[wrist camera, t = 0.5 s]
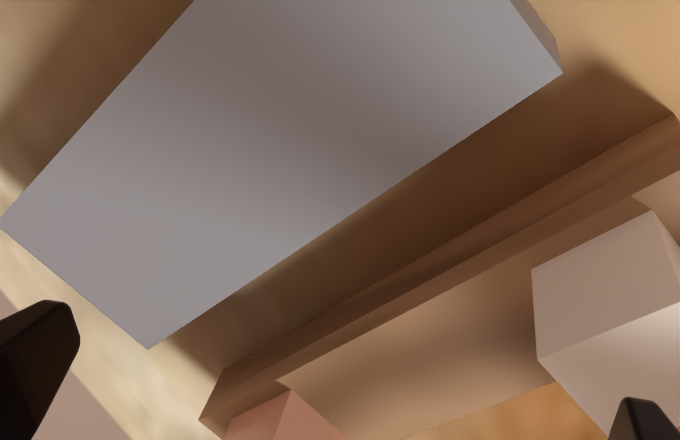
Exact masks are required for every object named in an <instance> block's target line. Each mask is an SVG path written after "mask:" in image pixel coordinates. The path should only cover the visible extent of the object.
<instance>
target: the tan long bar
mask: <svg viewBox="0 0 680 440" xmlns="http://www.w3.org/2000/svg"><path fill="white" fill-rule="evenodd" d="M650 210H653V212H654V213H655V214H656V216H657V217H658V218H659V220H660V221H661V223H662V224H663V225H664V227H665V228H666V229H667V231H668V232H669V233H670V235H671V236H672V237H673V239H674V240H675V241H676V243H677V244H678V245H679V247H680V122H679V120H678V119H677V117H676V116H675V114H674V113H672V114H670V115H669V116H667V117H665V118H663V119H662V120H660V121H658V122H656V123H655V124H653V125H651V126H649V127H648V128H646V129H644V130H642V131H641V132H639V133H637V134H635V135H634V136H632V137H630V138H628V139H627V140H625V141H623V142H621V143H620V144H618V145H616V146H614V147H613V148H611V149H609V150H607V151H606V152H604V153H602V154H600V155H599V156H597V157H595V158H593V159H592V160H590V161H588V162H586V163H585V164H583V165H581V166H579V167H578V168H576V169H574V170H572V171H571V172H569V173H567V174H565V175H564V176H562V177H560V178H558V179H557V180H555V181H553V182H551V183H550V184H548V185H546V186H544V187H543V188H541V189H539V190H537V191H536V192H534V193H532V194H530V195H529V196H527V197H525V198H523V199H522V200H520V201H518V202H516V203H515V204H513V205H511V206H509V207H508V208H506V209H504V210H502V211H501V212H499V213H497V214H495V215H494V216H492V217H490V218H488V219H487V220H485V221H483V222H481V223H480V224H478V225H476V226H474V227H473V228H471V229H469V230H467V231H466V232H464V233H462V234H460V235H459V236H457V237H455V238H453V239H452V240H450V241H448V242H446V243H445V244H443V245H441V246H439V247H438V248H436V249H434V250H432V251H431V252H429V253H427V254H425V255H424V256H422V257H420V258H418V259H417V260H415V261H413V262H411V263H410V264H408V265H406V266H404V267H403V268H401V269H399V270H397V271H396V272H394V273H392V274H390V275H389V276H387V277H385V278H383V279H382V280H380V281H378V282H376V283H375V284H373V285H371V286H369V287H368V288H366V289H364V290H362V291H361V292H359V293H357V294H355V295H354V296H352V297H350V298H348V299H347V300H345V301H343V302H341V303H340V304H338V305H336V306H334V307H333V308H331V309H329V310H327V311H326V312H324V313H322V314H320V315H319V316H317V317H315V318H313V319H312V320H310V321H308V322H306V323H305V324H303V325H301V326H299V327H298V328H296V329H294V330H292V331H291V332H289V333H287V334H285V335H284V336H282V337H280V338H278V339H277V340H275V341H273V342H271V343H270V344H268V345H266V346H264V347H263V348H261V349H259V350H257V351H256V352H254V353H252V354H250V355H249V356H247V357H245V358H243V359H242V360H240V361H238V362H236V363H235V364H233V365H231V366H229V367H228V368H226V369H224V370H223V371H222V373H221V375H220V377H219V379H218V381H217V383H216V385H215V387H214V389H213V391H212V393H211V395H210V397H209V399H208V401H207V403H206V405H205V407H204V409H203V411H202V413H201V415H200V417H199V419H198V420H199V421H200V422H201V423H202V424H203V425H205V426H206V427H207V428H208V429H210V430H211V431H212V432H213V433H215V434H216V435H217V436H218V437H220V438H221V439H222V440H223V439H224V436H225V434H226V432H227V430H228V427H229V425H230V423H231V421H232V418H234V417H236V416H238V415H241V414H243V413H245V412H247V411H249V410H251V409H253V408H255V407H257V406H259V405H261V404H263V403H265V402H267V401H269V400H271V399H273V398H275V397H277V396H279V395H281V394H283V393H285V392H287V391H289V390H291V389H292V390H293V391H294V392H295V393H296V394H298V395H299V396H300V397H301V398H302V399H303V400H304V401H305V402H307V403H308V404H309V405H310V406H311V407H312V408H313V409H315V410H316V411H317V412H318V413H319V414H320V415H321V416H323V417H324V418H325V419H326V420H327V421H328V422H329V423H330V424H332V425H333V426H334V427H335V428H336V429H337V430H338V431H340V432H341V433H342V434H343V435H344V436H345V437H346V438H347V439H349V440H403V439H406V438H408V437H411V436H414V435H416V434H419V433H421V432H424V431H427V430H429V429H432V428H435V427H437V426H440V425H442V424H445V423H448V422H450V421H453V420H456V419H458V418H461V417H463V416H466V415H469V414H471V413H474V412H477V411H479V410H482V409H484V408H487V407H490V406H492V405H495V404H498V403H500V402H503V401H505V400H508V399H511V398H513V397H516V396H519V395H521V394H524V393H526V392H529V391H532V390H534V389H537V388H540V387H542V386H545V385H547V384H550V383H553V382H555V381H556V380H555V379H554V378H553V377H552V376H551V374H550V373H549V372H548V371H547V370H546V369H545V368H544V367H543V366H542V365H541V364H540V362H539V361H538V360H537V351H536V336H535V321H534V305H533V290H532V275H531V269H533V268H535V267H537V266H539V265H541V264H543V263H545V262H547V261H549V260H551V259H553V258H555V257H557V256H559V255H561V254H563V253H565V252H567V251H569V250H571V249H573V248H575V247H577V246H579V245H581V244H583V243H585V242H587V241H589V240H591V239H593V238H595V237H597V236H599V235H601V234H603V233H605V232H607V231H609V230H611V229H613V228H615V227H618V226H620V225H622V224H624V223H626V222H628V221H630V220H632V219H634V218H636V217H638V216H640V215H642V214H644V213H646V212H648V211H650Z"/></svg>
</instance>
